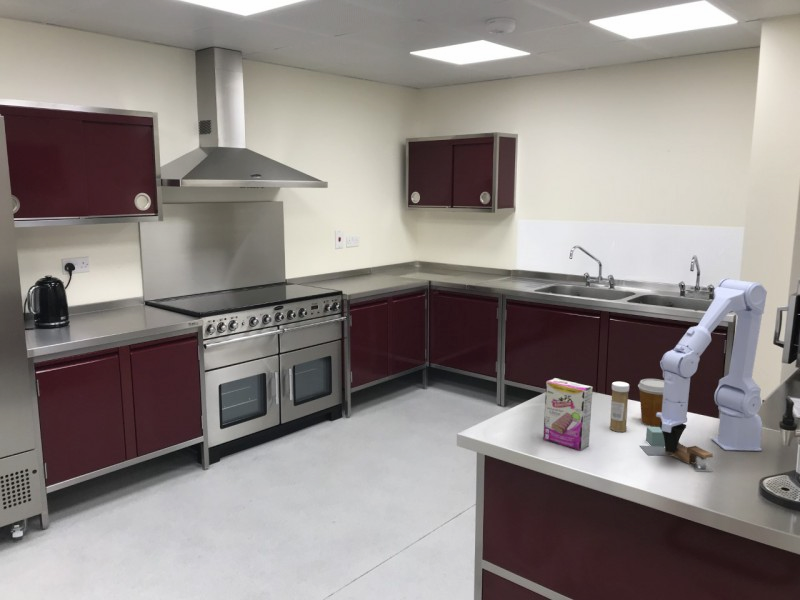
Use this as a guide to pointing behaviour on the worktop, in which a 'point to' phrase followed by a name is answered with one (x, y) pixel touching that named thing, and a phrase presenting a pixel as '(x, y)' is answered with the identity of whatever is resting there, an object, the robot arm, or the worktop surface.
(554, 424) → the candy bar box
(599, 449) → the worktop surface
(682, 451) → the leg
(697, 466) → the flanged metal stem
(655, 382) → the disposable coffee cup
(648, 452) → the seat pad
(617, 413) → the sprinkles bottle
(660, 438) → the block
